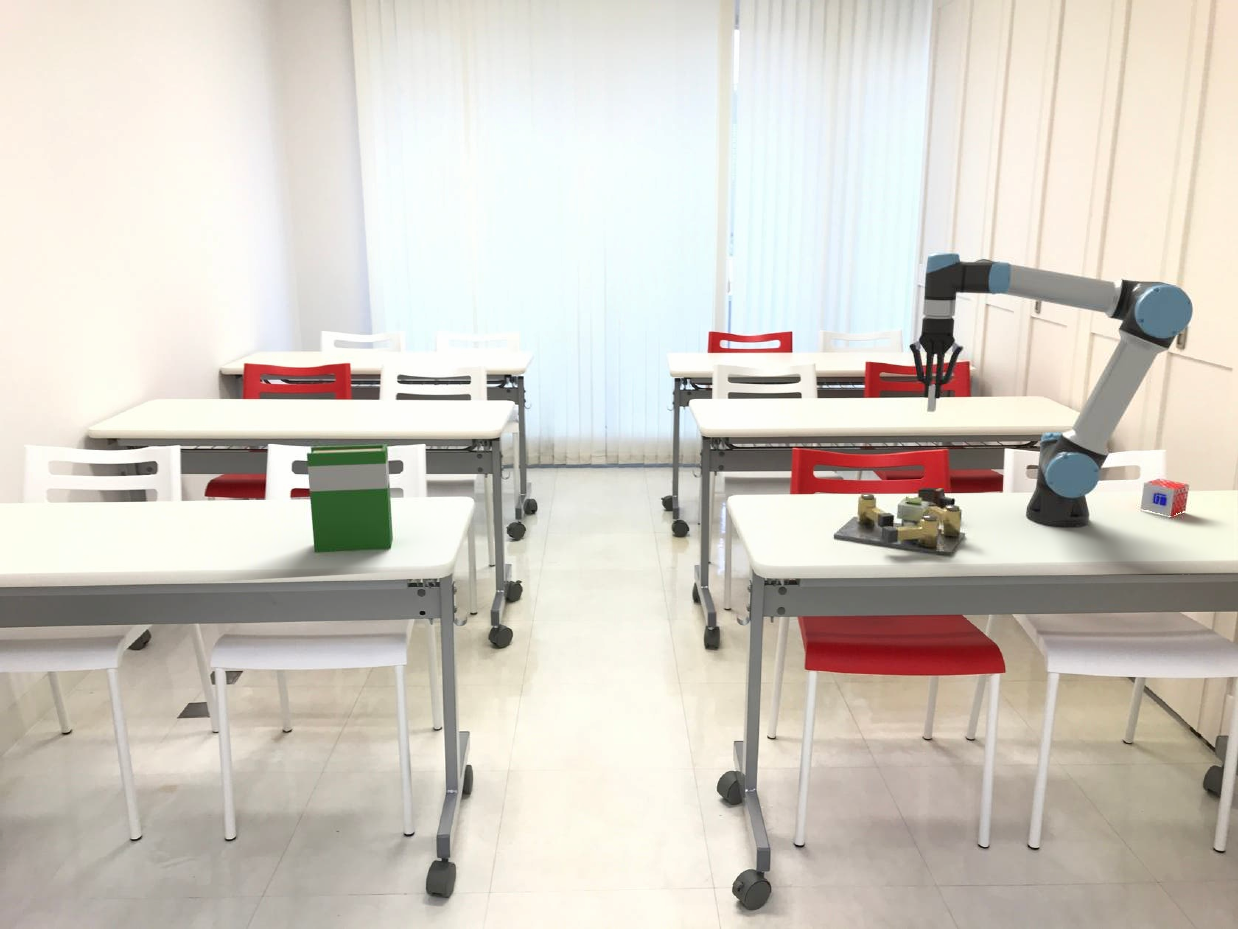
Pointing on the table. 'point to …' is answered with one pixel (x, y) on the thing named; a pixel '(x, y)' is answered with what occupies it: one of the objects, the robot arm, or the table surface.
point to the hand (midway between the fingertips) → (931, 410)
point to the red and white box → (1164, 497)
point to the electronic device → (935, 497)
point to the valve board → (910, 515)
